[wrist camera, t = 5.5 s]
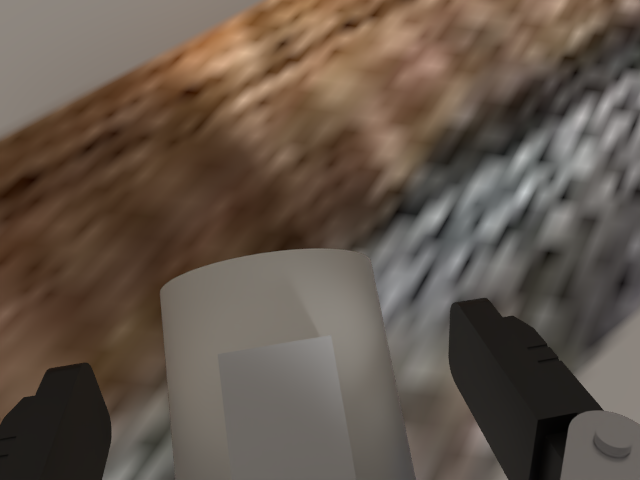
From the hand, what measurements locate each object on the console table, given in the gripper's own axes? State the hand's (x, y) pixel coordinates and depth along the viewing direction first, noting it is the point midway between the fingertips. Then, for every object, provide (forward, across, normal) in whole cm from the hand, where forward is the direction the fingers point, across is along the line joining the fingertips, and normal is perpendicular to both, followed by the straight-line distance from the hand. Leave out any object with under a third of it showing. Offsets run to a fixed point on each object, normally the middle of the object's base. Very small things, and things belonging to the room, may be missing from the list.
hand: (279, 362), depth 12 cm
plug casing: (+3, 0, +4) cm, 5 cm away
